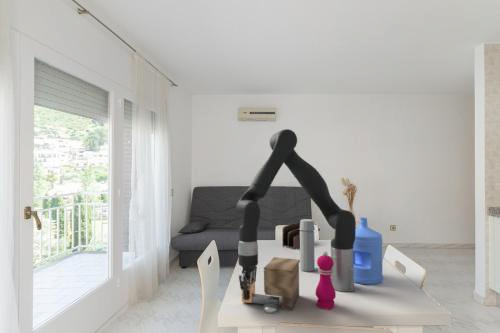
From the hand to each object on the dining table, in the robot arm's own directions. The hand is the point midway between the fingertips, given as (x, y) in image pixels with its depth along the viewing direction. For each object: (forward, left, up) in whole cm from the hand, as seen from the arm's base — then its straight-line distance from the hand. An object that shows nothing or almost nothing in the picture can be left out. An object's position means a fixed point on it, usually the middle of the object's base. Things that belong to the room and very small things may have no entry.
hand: (248, 296), depth 118 cm
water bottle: (-15, -46, -2) cm, 48 cm away
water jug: (-42, -40, -2) cm, 58 cm away
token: (-10, +4, -2) cm, 11 cm away
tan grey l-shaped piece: (-5, 0, -1) cm, 5 cm away
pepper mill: (-28, -6, -2) cm, 29 cm away
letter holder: (-1, -94, -2) cm, 94 cm away
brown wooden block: (-12, -5, -2) cm, 13 cm away
